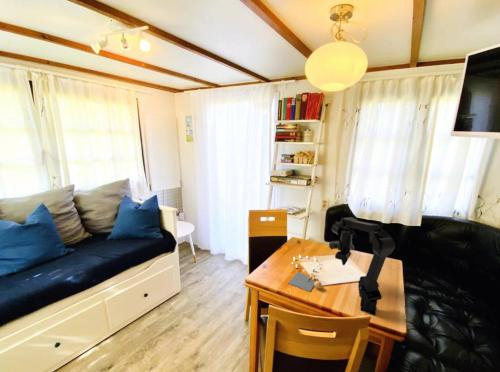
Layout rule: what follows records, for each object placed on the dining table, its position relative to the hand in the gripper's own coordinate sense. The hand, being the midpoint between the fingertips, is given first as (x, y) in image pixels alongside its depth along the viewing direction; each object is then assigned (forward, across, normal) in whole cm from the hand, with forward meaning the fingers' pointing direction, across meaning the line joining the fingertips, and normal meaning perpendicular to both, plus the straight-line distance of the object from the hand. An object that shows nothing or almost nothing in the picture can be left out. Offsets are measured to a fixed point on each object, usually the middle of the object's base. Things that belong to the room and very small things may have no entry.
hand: (343, 264), depth 133 cm
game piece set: (+13, -9, -25) cm, 29 cm away
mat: (+12, +11, -19) cm, 25 cm away
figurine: (+11, +14, -9) cm, 20 cm away
